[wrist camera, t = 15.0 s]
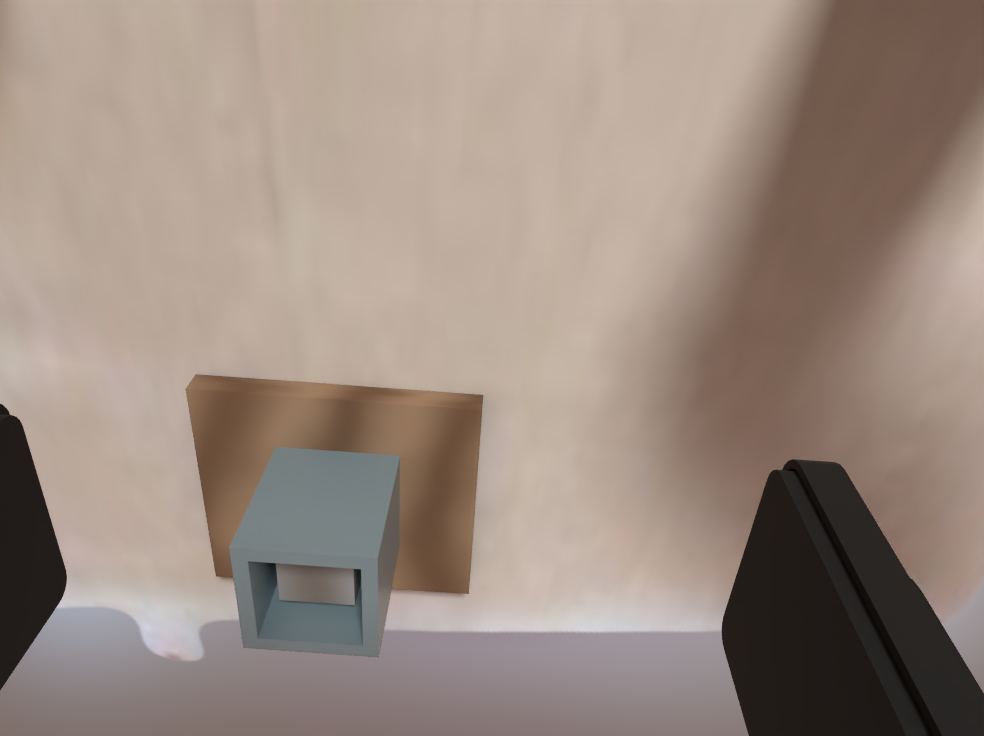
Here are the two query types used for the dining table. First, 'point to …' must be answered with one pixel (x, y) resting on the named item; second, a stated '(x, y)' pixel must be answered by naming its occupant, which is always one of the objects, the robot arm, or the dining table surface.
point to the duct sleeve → (318, 549)
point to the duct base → (348, 428)
